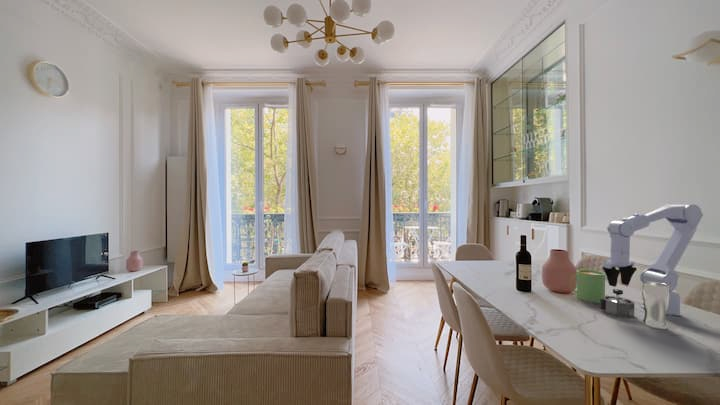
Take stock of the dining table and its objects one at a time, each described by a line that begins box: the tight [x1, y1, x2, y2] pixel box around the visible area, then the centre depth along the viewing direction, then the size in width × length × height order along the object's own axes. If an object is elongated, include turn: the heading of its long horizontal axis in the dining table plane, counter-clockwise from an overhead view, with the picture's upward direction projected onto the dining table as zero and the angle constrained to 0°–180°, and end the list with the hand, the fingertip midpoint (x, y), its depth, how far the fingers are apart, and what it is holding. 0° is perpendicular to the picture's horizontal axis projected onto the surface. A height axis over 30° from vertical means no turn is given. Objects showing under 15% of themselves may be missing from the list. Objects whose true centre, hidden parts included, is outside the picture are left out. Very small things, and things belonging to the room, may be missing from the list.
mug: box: [569, 268, 606, 304], centre depth 138 cm, size 13×10×12 cm
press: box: [599, 295, 635, 319], centre depth 120 cm, size 10×9×5 cm
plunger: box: [607, 288, 629, 304], centre depth 120 cm, size 7×7×5 cm
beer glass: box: [641, 281, 669, 330], centre depth 108 cm, size 7×7×15 cm
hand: (618, 285), depth 122 cm, fingers open, 7 cm apart
